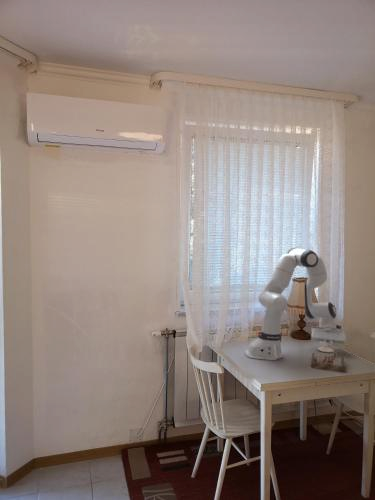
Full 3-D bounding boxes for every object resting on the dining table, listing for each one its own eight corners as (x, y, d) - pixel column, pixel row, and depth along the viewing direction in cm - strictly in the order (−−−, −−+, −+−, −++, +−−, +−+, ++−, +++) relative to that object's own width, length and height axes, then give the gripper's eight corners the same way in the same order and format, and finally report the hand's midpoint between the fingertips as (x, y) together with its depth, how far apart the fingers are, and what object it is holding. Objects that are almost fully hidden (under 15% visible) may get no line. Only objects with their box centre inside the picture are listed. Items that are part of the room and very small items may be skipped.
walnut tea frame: (311, 367, 201) (311, 362, 201) (312, 357, 218) (312, 352, 218) (345, 372, 195) (345, 366, 195) (343, 361, 212) (343, 356, 212)
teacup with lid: (322, 368, 201) (323, 347, 200) (313, 362, 209) (314, 342, 209) (341, 367, 203) (342, 346, 203) (331, 361, 212) (332, 341, 212)
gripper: (311, 323, 233) (310, 342, 224) (346, 327, 226) (346, 347, 217) (311, 329, 237) (310, 347, 229) (345, 332, 230) (345, 352, 221)
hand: (328, 347), depth 223 cm, fingers closed
